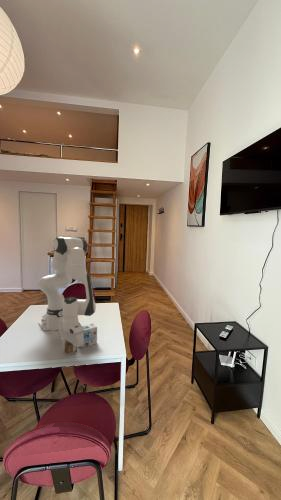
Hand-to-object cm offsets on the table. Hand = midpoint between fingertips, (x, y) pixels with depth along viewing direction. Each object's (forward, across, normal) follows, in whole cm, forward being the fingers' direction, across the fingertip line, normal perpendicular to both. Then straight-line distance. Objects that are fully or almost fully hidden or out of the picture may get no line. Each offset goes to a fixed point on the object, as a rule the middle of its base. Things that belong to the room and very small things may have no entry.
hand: (70, 348), depth 129 cm
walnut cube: (+2, 0, 0) cm, 2 cm away
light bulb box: (+2, 0, +12) cm, 12 cm away
